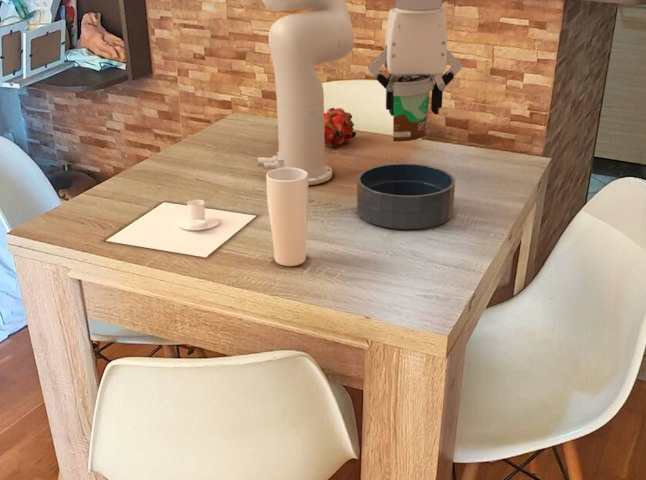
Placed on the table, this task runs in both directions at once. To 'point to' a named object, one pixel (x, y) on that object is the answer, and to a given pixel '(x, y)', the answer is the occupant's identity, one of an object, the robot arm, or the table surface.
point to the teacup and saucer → (183, 228)
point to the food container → (411, 106)
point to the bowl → (405, 196)
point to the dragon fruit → (337, 127)
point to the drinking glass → (288, 213)
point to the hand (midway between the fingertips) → (413, 112)
